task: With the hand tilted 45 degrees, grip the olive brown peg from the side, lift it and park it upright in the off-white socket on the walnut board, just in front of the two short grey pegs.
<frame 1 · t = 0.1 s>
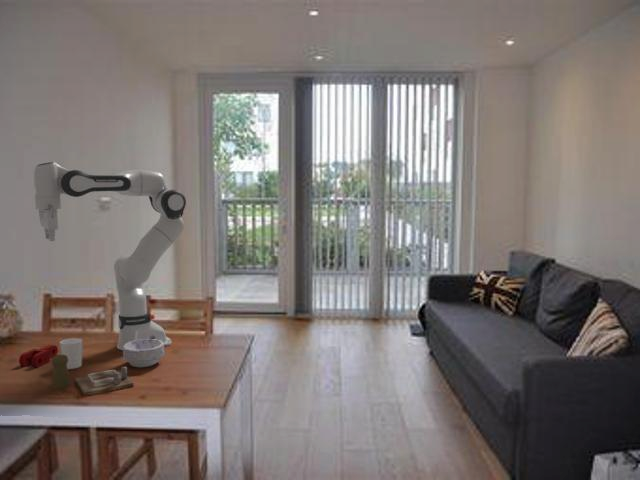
hand: (50, 239, 217), 48 cm above the table, tool pointing down, fingers open, 8 cm apart
peg board: (104, 383, 196), on the table
mechanical linkage: (42, 362, 220), on the table
paper bowls: (144, 364, 217), on the table
white cup: (72, 366, 214), on the table
olive brown peg: (61, 386, 194), on the table
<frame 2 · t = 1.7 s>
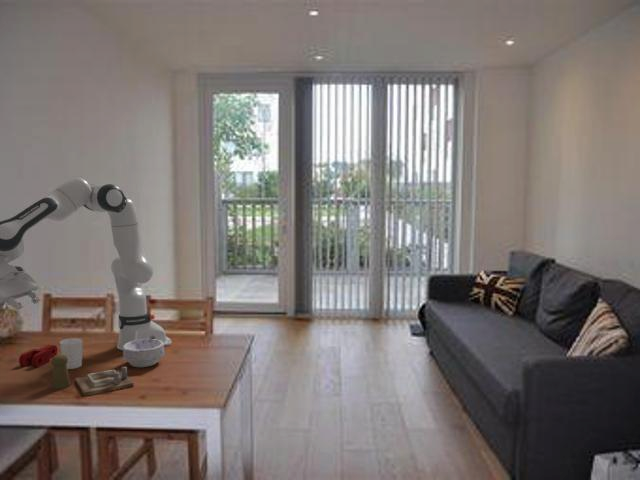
hand: (29, 305, 195), 28 cm above the table, tool tilted 45°, fingers open, 8 cm apart
nothing on the table moved.
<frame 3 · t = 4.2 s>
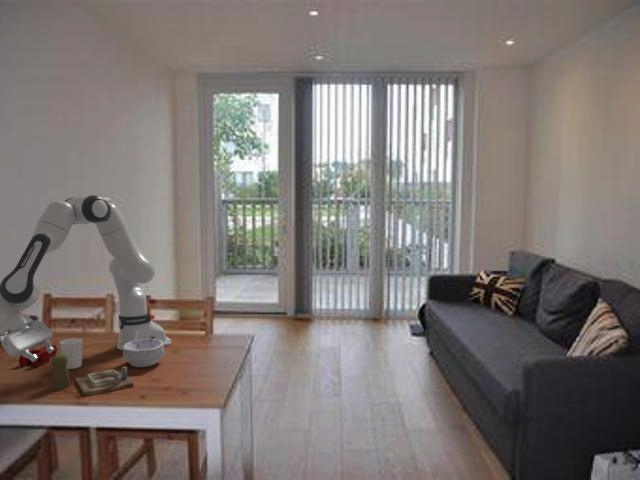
hand: (44, 355, 193), 11 cm above the table, tool tilted 45°, fingers open, 8 cm apart
nothing on the table moved.
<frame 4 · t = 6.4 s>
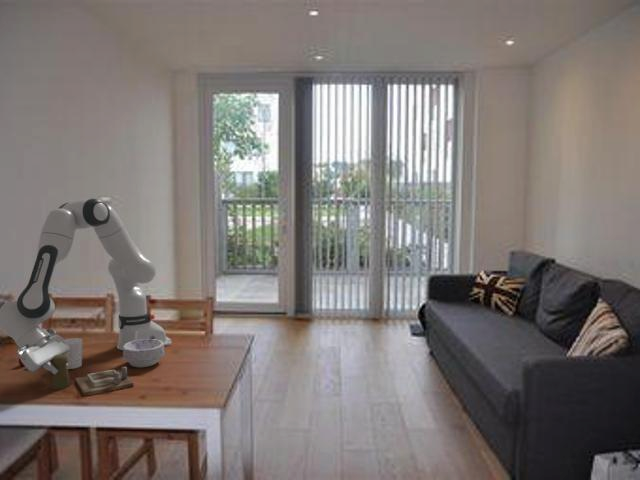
hand: (61, 369, 193), 6 cm above the table, tool tilted 45°, fingers closed on olive brown peg, 4 cm apart
olive brown peg: (61, 386, 194), on the table, touching gripper
everything else where it was.
when the fingers open (8 cm above the table, at t = 11.6 s): olive brown peg stays where it is, resting on peg board.
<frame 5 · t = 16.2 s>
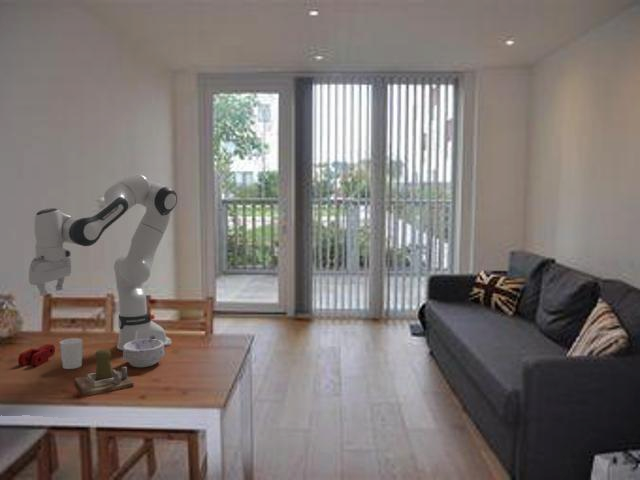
hand: (51, 292, 199), 31 cm above the table, tool pointing down, fingers open, 8 cm apart
olive brown peg: (104, 380, 196), point 1 cm above the table, touching peg board
at the end: olive brown peg inside the target area on the peg board (0.1 cm from its centre), point 1.0 cm above the peg board's base; olive brown peg tilted 0°; the gripper is holding nothing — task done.
